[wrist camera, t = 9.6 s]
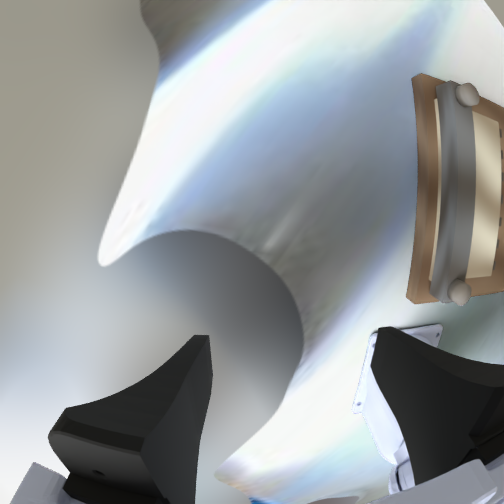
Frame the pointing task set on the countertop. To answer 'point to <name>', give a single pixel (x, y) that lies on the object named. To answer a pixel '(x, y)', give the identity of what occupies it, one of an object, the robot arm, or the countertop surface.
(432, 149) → the ticket board
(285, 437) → the countertop surface
